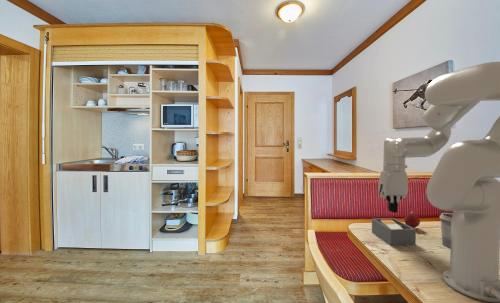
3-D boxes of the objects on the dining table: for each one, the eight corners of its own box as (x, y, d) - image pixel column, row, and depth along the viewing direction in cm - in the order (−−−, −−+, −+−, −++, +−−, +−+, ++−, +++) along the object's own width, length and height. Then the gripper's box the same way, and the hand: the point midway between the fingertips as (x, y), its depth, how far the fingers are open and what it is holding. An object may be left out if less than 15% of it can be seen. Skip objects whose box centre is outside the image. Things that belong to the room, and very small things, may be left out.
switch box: (415, 244, 86) (415, 229, 86) (390, 245, 86) (390, 230, 86) (393, 231, 99) (393, 218, 98) (371, 232, 98) (371, 218, 98)
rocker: (404, 233, 88) (405, 230, 88) (392, 233, 88) (393, 230, 88) (391, 222, 96) (392, 219, 96) (380, 222, 96) (380, 220, 96)
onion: (414, 232, 98) (415, 214, 98) (401, 227, 103) (401, 210, 103) (422, 229, 100) (422, 212, 100) (408, 225, 106) (409, 209, 105)
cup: (467, 251, 81) (468, 219, 80) (446, 249, 82) (447, 218, 81) (453, 242, 88) (454, 212, 87) (434, 241, 89) (435, 212, 88)
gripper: (404, 166, 94) (403, 208, 96) (370, 167, 94) (370, 209, 95) (418, 168, 87) (417, 214, 88) (381, 169, 86) (380, 215, 88)
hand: (392, 211), depth 92 cm, fingers closed
